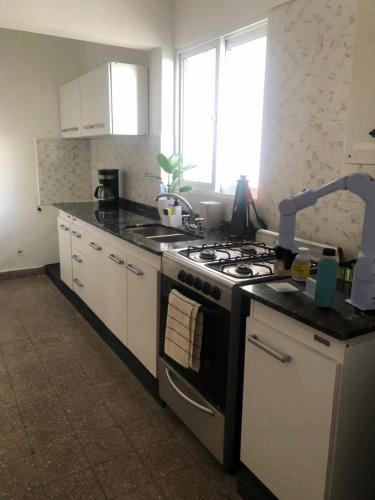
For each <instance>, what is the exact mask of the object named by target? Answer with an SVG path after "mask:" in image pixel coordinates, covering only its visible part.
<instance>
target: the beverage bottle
mask: <svg viewBox="0 0 375 500" xmlns="http://www.w3.org/2000/svg"><path fill="white" fill-rule="evenodd" d="M321 255H322V256H325V257H322V258H320V259H319V260H318V261H317V271H316V272H317V273H316V280H315V281H316V285H315V286H316V290H315V296H314V297H315V299H314V300H315V301H314V300H313V301H314V304H315V305H317V306H319V307H322V308H323V307H324V308H332V307H334V306H335V301H336V293H337V282H338V270H339V262H338V260H336V259H335V258H332V257H336V256H337V250H336V248H332V247H324V248H323V249H322V252H321Z"/></svg>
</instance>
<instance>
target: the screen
mask: <svg viewBox="0 0 375 500" xmlns="http://www.w3.org/2000/svg"><path fill="white" fill-rule="evenodd" d="M315 285H316V280H315V279H313V278H311V277H309V278H307V279H306V281H305V291H302V294H303V295H304V296H306V297H308V298H310V299H311V300H313V301H314V302H315V300H314V299H315V297H314V296H315V290H316V286H315Z"/></svg>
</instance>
